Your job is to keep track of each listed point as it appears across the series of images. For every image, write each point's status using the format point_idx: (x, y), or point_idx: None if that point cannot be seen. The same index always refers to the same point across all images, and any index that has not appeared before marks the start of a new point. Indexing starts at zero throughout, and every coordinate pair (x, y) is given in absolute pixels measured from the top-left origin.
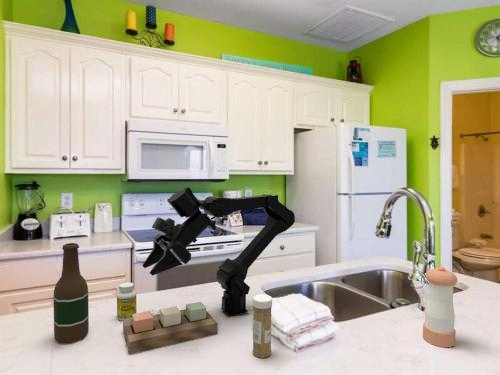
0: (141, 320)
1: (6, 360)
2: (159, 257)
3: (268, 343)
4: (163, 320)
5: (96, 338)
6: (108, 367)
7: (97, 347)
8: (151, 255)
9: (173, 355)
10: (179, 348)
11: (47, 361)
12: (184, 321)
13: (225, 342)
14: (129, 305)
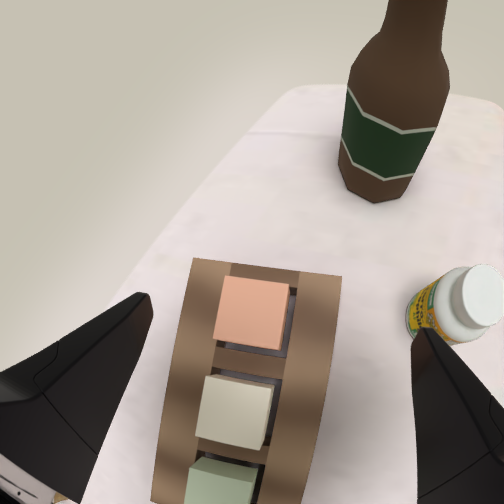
0: (221, 297)
1: (326, 86)
2: (432, 481)
3: None
4: (214, 375)
5: (337, 217)
6: (184, 218)
7: (286, 211)
8: (460, 413)
9: None
10: (155, 381)
11: (284, 129)
12: (215, 444)
13: (120, 474)
14: (423, 313)
